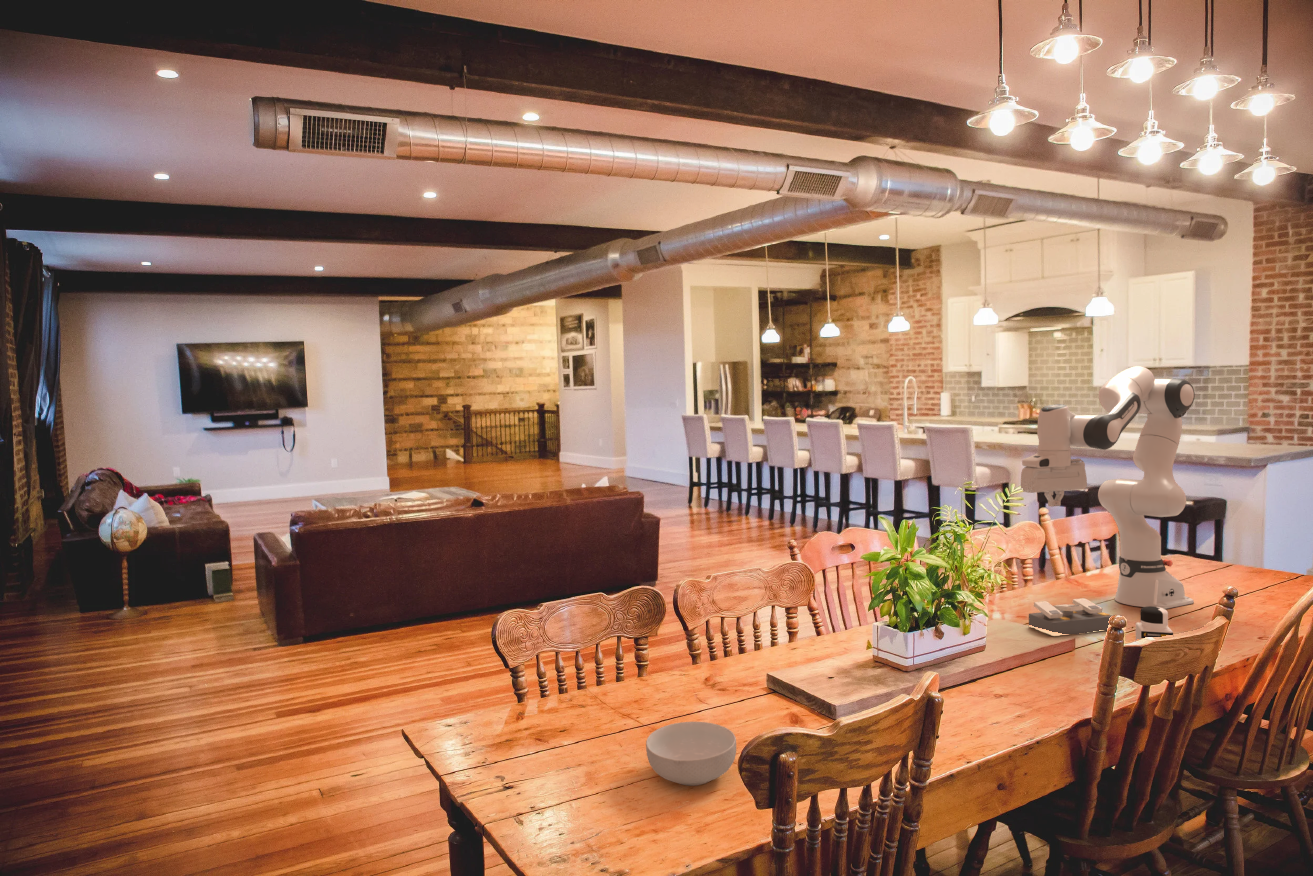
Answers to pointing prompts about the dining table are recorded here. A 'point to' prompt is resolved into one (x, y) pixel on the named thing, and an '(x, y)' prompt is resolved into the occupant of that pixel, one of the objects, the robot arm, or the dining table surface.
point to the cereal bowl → (691, 752)
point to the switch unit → (1071, 622)
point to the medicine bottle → (1153, 623)
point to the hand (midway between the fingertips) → (1054, 506)
